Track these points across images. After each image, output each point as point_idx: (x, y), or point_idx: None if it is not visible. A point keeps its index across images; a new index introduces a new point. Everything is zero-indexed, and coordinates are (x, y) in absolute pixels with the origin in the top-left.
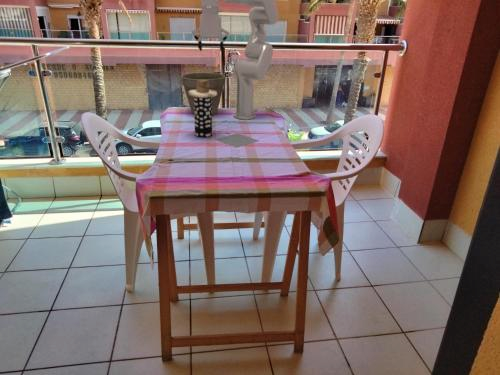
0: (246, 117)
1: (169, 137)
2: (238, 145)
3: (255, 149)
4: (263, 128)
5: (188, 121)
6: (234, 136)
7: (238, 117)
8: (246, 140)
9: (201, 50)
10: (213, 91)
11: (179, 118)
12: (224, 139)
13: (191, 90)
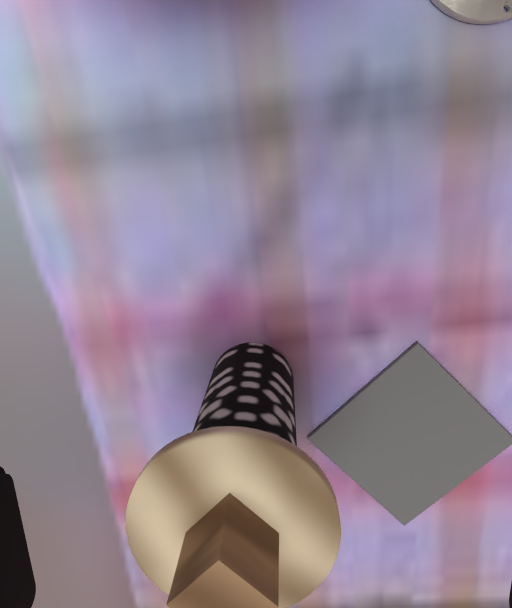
0: (504, 11)
1: (106, 412)
2: (414, 504)
3: (481, 522)
4: None
5: (127, 126)
6: (401, 393)
7: (446, 9)
8: (455, 442)
9: (31, 580)
10: (312, 511)
11: (56, 61)
12: (353, 438)
13: (139, 499)
